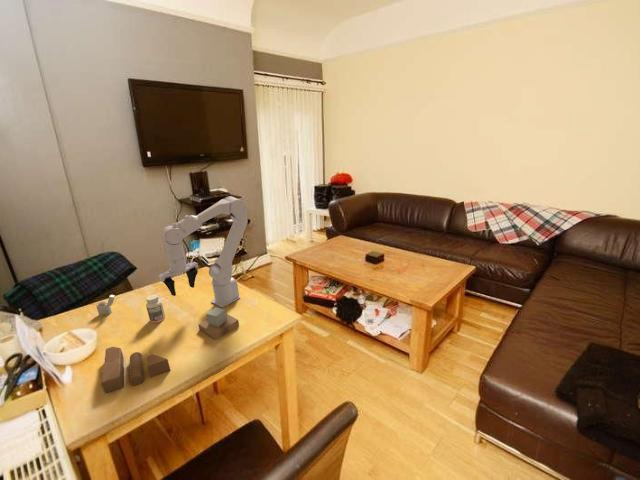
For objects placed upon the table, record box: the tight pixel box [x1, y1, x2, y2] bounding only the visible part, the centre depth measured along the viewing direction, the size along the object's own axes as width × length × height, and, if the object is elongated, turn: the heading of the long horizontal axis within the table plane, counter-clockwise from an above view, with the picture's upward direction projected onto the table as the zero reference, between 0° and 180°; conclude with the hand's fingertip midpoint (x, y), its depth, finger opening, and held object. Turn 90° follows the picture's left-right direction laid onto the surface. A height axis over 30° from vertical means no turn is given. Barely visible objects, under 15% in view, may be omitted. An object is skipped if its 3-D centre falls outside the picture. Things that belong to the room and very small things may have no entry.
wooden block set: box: [100, 346, 171, 395], centre depth 98 cm, size 17×6×18 cm
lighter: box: [96, 294, 116, 316], centre depth 127 cm, size 7×2×8 cm, turn 98°
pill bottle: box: [145, 294, 166, 324], centre depth 121 cm, size 5×5×10 cm
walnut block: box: [198, 313, 240, 341], centre depth 115 cm, size 10×10×3 cm
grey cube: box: [206, 306, 227, 327], centre depth 114 cm, size 4×4×4 cm
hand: (183, 290), depth 121 cm, fingers open, 7 cm apart
